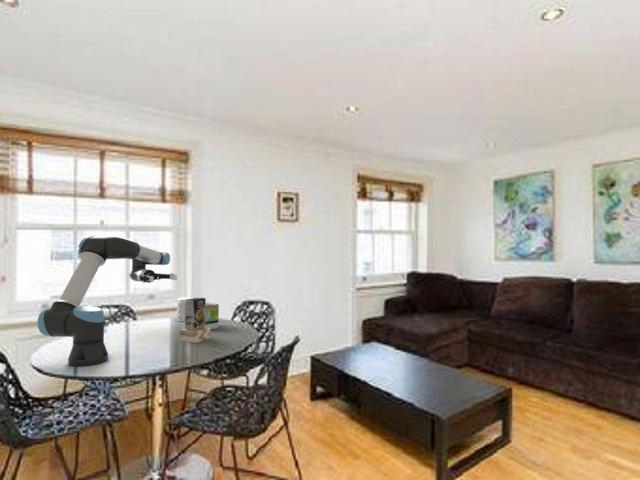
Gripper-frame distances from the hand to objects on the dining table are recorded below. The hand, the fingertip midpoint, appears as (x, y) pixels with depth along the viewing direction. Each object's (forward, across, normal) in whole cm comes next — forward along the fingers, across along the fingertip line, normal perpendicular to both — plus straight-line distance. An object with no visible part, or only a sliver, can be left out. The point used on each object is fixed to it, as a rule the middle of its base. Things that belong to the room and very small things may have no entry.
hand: (164, 278), depth 222 cm
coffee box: (+18, -8, -26) cm, 33 cm away
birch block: (+18, -8, -32) cm, 38 cm away
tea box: (-3, -28, -32) cm, 43 cm away
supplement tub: (-31, -31, -32) cm, 55 cm away
